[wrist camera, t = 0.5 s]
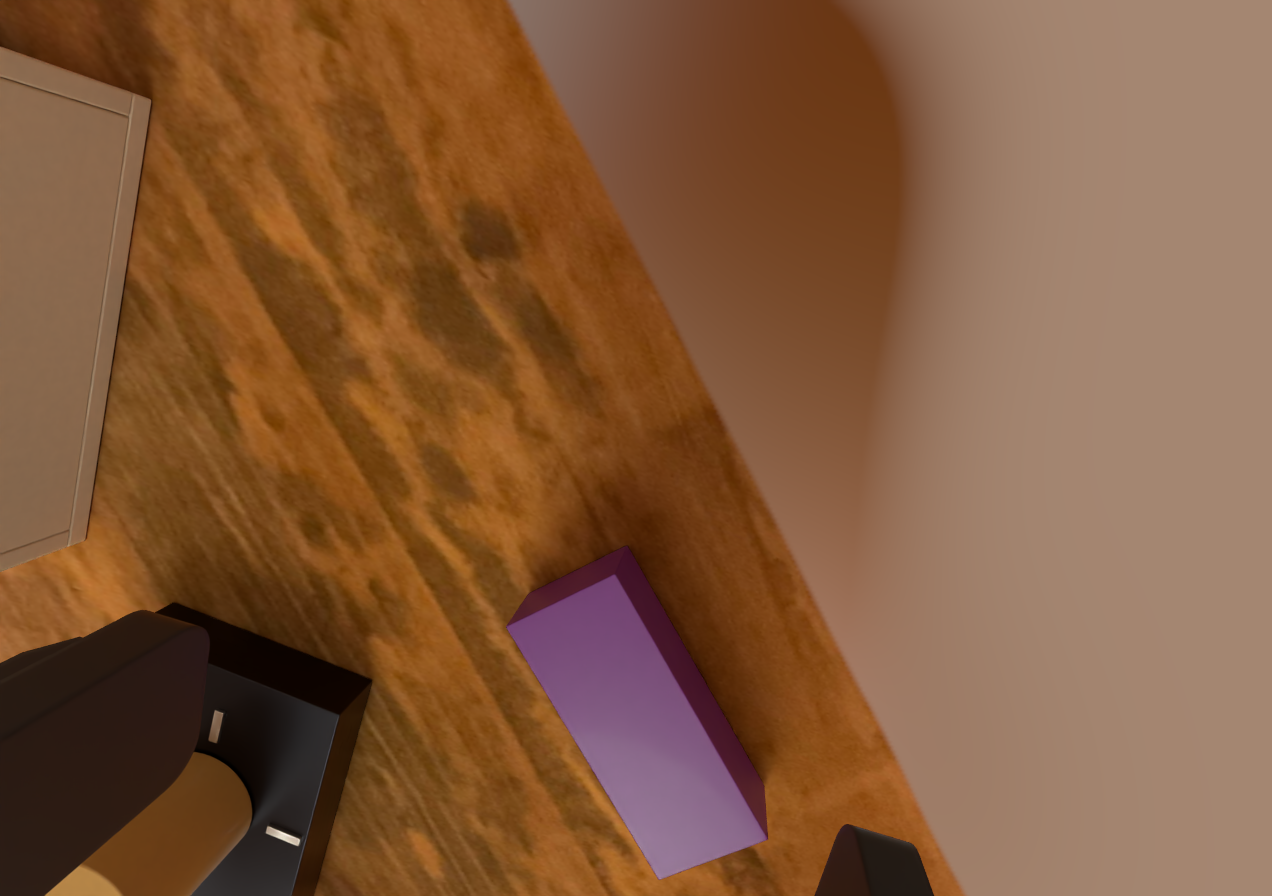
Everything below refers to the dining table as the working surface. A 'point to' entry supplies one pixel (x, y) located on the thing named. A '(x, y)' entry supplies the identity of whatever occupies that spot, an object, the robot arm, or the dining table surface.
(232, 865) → the plate
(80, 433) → the white open box
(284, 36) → the dining table surface
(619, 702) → the purple rectangular block
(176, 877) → the tap knob
